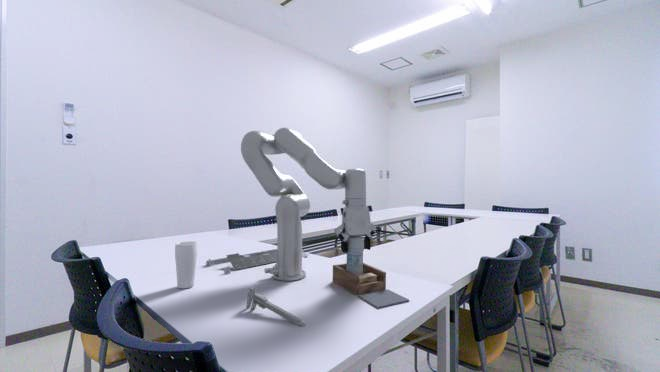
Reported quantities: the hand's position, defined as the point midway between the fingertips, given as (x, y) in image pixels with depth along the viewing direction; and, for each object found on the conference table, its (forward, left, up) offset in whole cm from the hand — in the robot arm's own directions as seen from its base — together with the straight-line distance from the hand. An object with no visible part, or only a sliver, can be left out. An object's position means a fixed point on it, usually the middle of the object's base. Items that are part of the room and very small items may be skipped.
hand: (356, 250), depth 107 cm
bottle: (0, 0, -12) cm, 12 cm away
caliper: (-34, -12, -12) cm, 38 cm away
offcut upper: (0, -6, -10) cm, 12 cm away
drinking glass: (-54, +24, -12) cm, 61 cm away
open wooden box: (0, -2, -12) cm, 12 cm away
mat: (0, -16, -12) cm, 20 cm away
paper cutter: (-22, +47, -13) cm, 53 cm away
